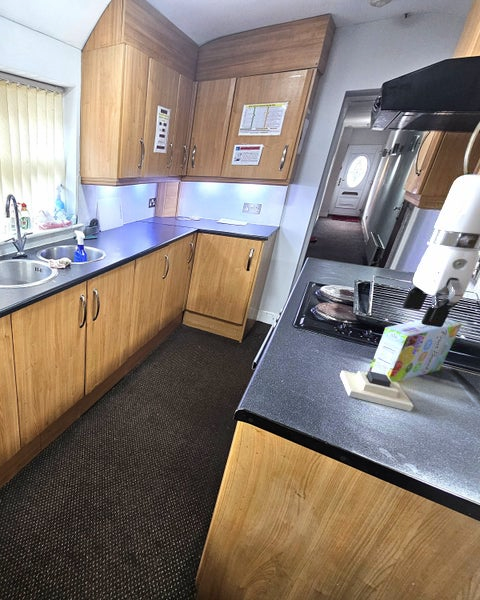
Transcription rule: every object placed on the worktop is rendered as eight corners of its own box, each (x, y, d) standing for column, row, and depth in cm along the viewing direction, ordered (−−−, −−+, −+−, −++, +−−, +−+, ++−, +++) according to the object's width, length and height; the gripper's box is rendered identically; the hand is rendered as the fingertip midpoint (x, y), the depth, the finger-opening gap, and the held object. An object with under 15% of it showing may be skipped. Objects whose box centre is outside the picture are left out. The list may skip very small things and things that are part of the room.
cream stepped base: (395, 388, 85) (400, 376, 84) (410, 411, 77) (417, 399, 76) (339, 375, 90) (343, 364, 89) (348, 396, 82) (353, 384, 80)
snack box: (416, 360, 97) (438, 314, 91) (440, 371, 92) (465, 323, 86) (365, 373, 91) (385, 325, 85) (387, 385, 86) (410, 336, 80)
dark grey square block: (383, 380, 83) (386, 374, 82) (388, 388, 80) (391, 382, 80) (365, 376, 85) (368, 370, 84) (370, 384, 82) (372, 378, 81)
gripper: (511, 251, 57) (465, 337, 64) (457, 234, 72) (424, 306, 78) (454, 246, 60) (415, 329, 66) (413, 231, 74) (384, 300, 81)
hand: (420, 316), depth 72 cm, fingers open, 9 cm apart
